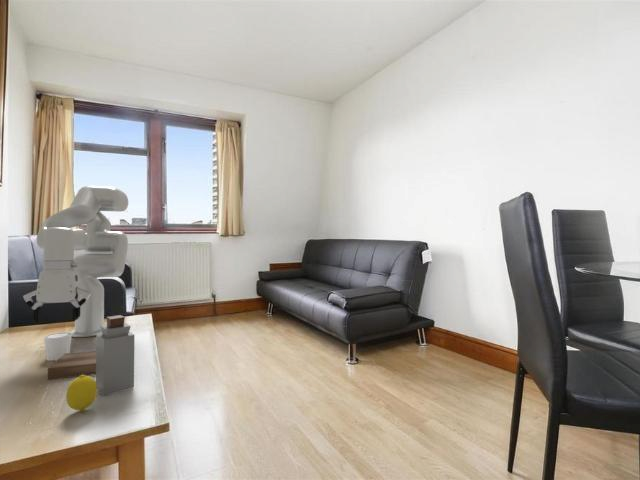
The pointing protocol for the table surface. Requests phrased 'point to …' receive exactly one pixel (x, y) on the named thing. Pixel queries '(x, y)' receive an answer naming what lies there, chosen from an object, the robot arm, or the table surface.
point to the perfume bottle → (114, 357)
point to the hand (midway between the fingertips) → (57, 320)
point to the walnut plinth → (73, 365)
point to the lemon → (81, 393)
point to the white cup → (57, 345)
